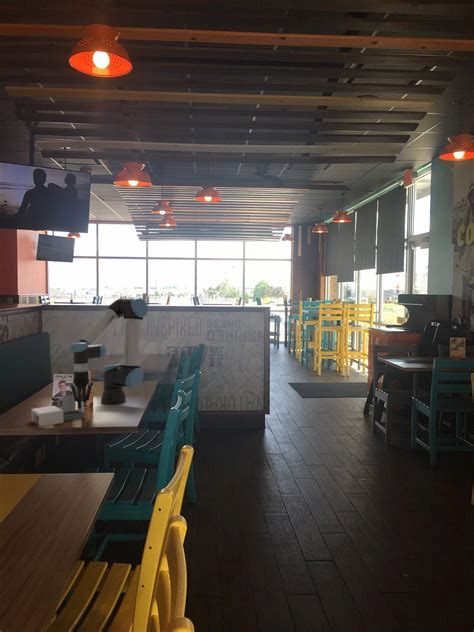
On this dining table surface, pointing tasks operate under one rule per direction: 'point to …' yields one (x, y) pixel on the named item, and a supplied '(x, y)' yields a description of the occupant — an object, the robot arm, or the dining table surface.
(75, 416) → the grey storage tray
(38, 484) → the dining table surface
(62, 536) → the dining table surface
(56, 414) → the small white side table
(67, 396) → the cup
